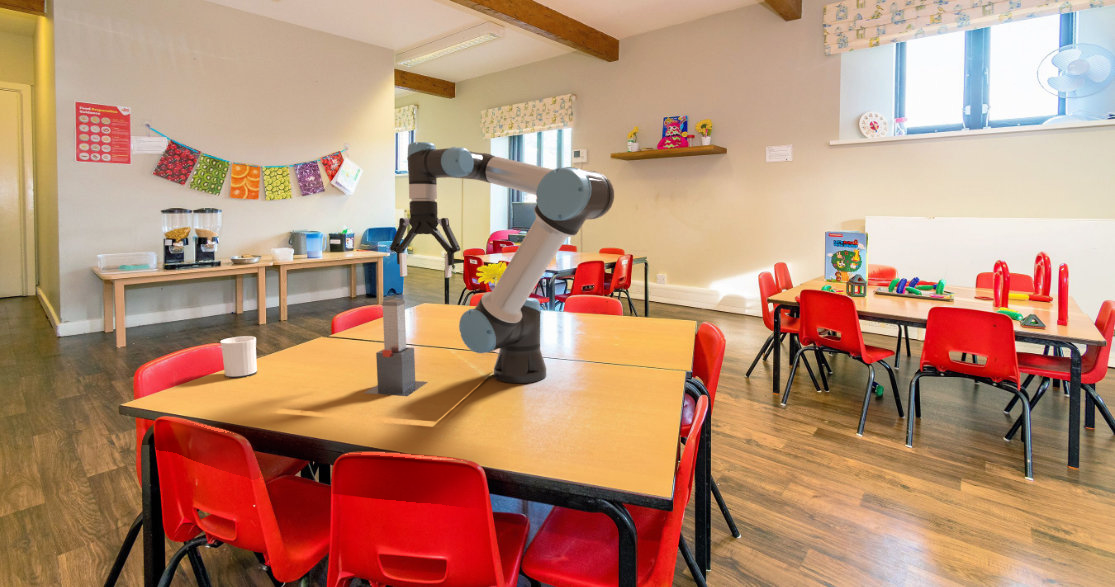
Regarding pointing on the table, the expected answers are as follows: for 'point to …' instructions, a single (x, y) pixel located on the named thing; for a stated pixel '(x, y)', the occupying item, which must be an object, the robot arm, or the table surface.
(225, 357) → the mug
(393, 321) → the column
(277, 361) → the table surface
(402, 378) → the stand housing
